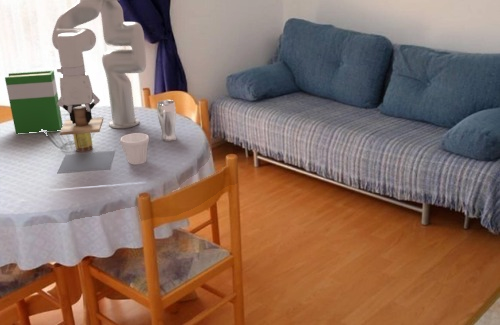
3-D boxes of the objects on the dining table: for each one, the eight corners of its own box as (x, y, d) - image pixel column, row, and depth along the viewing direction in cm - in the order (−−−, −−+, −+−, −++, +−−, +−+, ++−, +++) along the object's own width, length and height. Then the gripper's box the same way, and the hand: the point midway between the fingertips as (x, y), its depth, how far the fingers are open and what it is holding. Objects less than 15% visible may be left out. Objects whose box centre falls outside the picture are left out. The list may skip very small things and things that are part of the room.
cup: (127, 169, 199) (124, 144, 196) (119, 160, 208) (116, 136, 204) (155, 163, 204) (152, 139, 200) (146, 154, 212) (143, 131, 208)
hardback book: (16, 134, 238) (4, 77, 229) (19, 129, 245) (8, 73, 236) (60, 131, 240) (50, 74, 231) (62, 125, 247) (53, 70, 238)
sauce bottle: (96, 148, 220) (89, 97, 213) (85, 153, 215) (77, 102, 208) (82, 145, 223) (75, 96, 215) (71, 151, 218) (63, 100, 210)
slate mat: (65, 155, 214) (65, 154, 214) (115, 151, 216) (115, 150, 215) (56, 174, 197) (56, 173, 197) (110, 170, 199) (110, 169, 199)
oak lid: (66, 122, 207) (63, 103, 204) (103, 119, 208) (100, 101, 206) (60, 135, 195) (56, 115, 192) (99, 132, 197) (96, 112, 194)
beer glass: (179, 136, 230) (176, 99, 224) (175, 142, 223) (172, 104, 218) (162, 136, 230) (159, 99, 225) (158, 142, 224) (154, 104, 218)
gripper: (45, 75, 190) (55, 127, 197) (97, 71, 191) (105, 123, 199) (49, 69, 196) (58, 120, 204) (100, 66, 198) (107, 116, 205)
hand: (81, 121), depth 201 cm, fingers closed on oak lid, 4 cm apart
